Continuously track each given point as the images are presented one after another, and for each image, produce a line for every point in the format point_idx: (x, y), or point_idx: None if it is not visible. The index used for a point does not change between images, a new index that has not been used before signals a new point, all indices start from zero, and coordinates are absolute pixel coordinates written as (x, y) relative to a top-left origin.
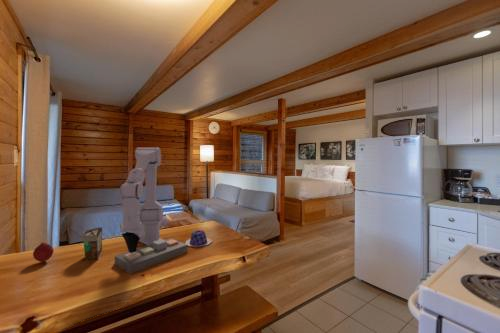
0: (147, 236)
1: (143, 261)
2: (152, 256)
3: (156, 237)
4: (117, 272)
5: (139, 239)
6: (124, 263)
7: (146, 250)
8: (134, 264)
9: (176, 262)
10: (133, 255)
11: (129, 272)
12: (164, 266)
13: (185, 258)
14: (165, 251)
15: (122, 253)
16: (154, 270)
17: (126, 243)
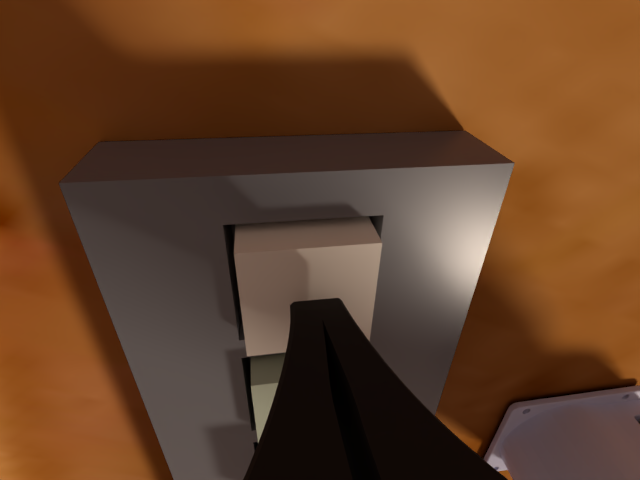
0: (570, 461)
1: (115, 313)
2: (156, 395)
3: (516, 475)
4: (236, 57)
5: (636, 398)
6: (236, 165)
7: None
8: (84, 228)
9: (83, 435)
10: (262, 299)
11: (117, 143)
12: (64, 374)
13: (111, 476)
14: (192, 471)
15: (486, 244)
16: (30, 308)
17: (399, 390)
